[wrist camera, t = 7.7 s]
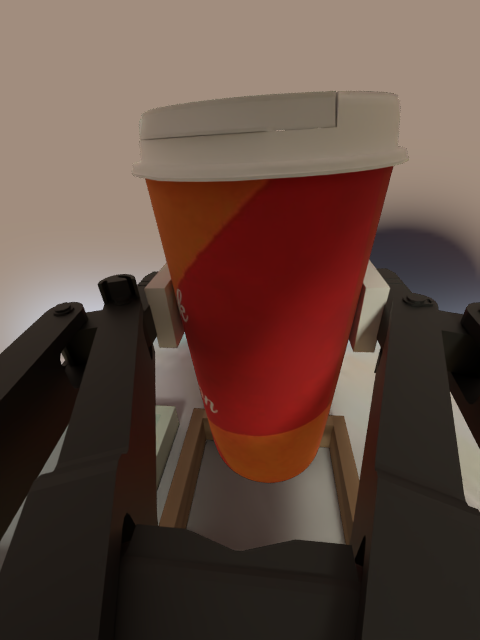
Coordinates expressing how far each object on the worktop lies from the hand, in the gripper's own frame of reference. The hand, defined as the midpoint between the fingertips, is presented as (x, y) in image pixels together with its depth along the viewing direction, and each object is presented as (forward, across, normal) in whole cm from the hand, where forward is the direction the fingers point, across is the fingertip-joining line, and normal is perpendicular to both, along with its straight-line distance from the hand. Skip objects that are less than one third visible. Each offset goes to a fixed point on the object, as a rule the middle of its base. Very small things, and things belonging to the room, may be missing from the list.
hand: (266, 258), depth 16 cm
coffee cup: (-5, 0, -9) cm, 10 cm away
